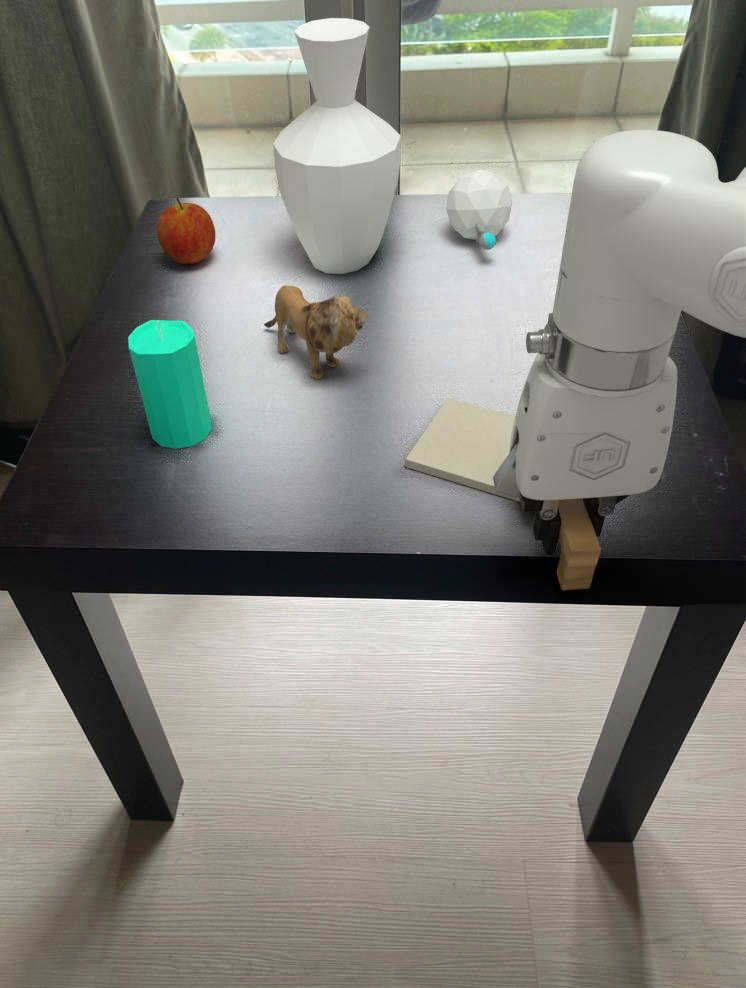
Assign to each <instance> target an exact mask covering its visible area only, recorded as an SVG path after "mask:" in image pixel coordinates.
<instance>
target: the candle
mask: <svg viewBox="0 0 746 988" xmlns="http://www.w3.org/2000/svg"><path fill="white" fill-rule="evenodd" d="M127 341H128V350H129V355H130V357H131V362H132V366H133V369H134V372H135V377H136V381H137V385H138V388H139V393H140V396H141V397H140V398H141V400H142V405H143V408H144V412H145V416H146V420H147V423H148V427H149V431H150V436H151V438H152V440H153V441H155V442H156V443H157V444H158V445H159V446H160V447H164V448H169V449H175V450H177V449H184V448H191V447H193V446H196V445H197V444H199V443H202V442H203V441H204V440H206V439H207V438H208V436H209V435H210V433H211V432H212V431H213V426H212V425H213V424H212V418H211V414H210V407H209V404H208V398H207V392H206V387H205V382H204V377H203V371H202V366H201V361H200V357H199V356H200V355H199V350H198V346H197V340H196V335H195V331H194V329H193V328H192V327H191V326H190V325H189V324H187V322H185V321H184V320H166V319H165V320H163V319H150V320H148V321H146V322H144V323H142V324H141V325H139V326H137V327H135V329H134V330H133V331H132V332H131V333H130V334H129V336H128V337H127Z"/></svg>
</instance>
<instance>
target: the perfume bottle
mask: <svg viewBox="0 0 746 988" xmlns="http://www.w3.org/2000/svg"><path fill="white" fill-rule="evenodd" d="M510 191H511V190H510V185H509V184H508V183H507V182H505V180H504V179H502V178H501V177H500V176H499V175H498V174H497V173H496V172H492V171H488V170H483V169H480V168H479V169H476V170H473V171H470V172H467V173H465V174H462V175H460V176H459V178H458V179H457V180H456V182H454V184H453V185H452V186H451V188H450V189H449V190H448V195H447V200H446V204H445V205H446V206H445V210H446V213H447V217H448V222H449V224H450V227H452V228H453V229H454V230H455V231H456V232H457V233H458V234H459V235H460V236H461V237H462V238H464V239H467V240H468V239H469V240H473V241H475V242H476V243H479V246H480V248H482V249H483V250H485V251H491V250H492V249H493V248H495V245H496V242H497V237H496V236H497V235H498V234H499V233H500V232H501V231H502V229H503V228H504V227H505V226H506V225H507V223H508V222H509V221H510V218H511V213H512V205H513V200H512V195H511V192H510Z"/></svg>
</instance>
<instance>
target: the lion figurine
mask: <svg viewBox="0 0 746 988" xmlns="http://www.w3.org/2000/svg"><path fill="white" fill-rule="evenodd" d="M274 313H275V316H274V317H273V318H272V319H271V320H268V321H267V322H265V323H263V326H264V327H266V328H267V329H270V328H272V327H274V326H275V325H276V324H277V352H278V353H280V354H285V353H287V352H289V350H290V349H289V346H288V344H287V342H286V337H285V336H286V334H285V329H286V330H287V331H288V333H291V334H293V333H295V334H296V335H297V336H298V337H299V338H300V339H301V340H302V341H305V344H306V349H307V353H308V359H309V364H310V376H311V378H312V379H313V380H320V379H322V378H323V377H324V373H323V369H322V366H321V364H320V353H324V354H325V363H326V365H328V366H329V367H331V368H337V367H339V365H340V364H341V362H340V359H339V358H338V357H337V358H335V357H334V354H336V353H338V352H339V351H341V350H342V349H343V348H346V347H348V346H349V347H350V345H351V344H353V343H354V341H355V339H356V337H357V335H358V332H361V331H362V330H363V326H364V325H365V324H366V322H367V317H368V313H367V312H366V311H364V310H361V309H358V308H357V307H356V306H355V304H352V300H351V297H349V296H345V295H339V296H336V295H334V296H333V297H332V296H331V297H330V298H327V299H324V300H321V301H318V302H314V301H313V302H311V303H310V302H309V301H308V300H307V299H306V298H305V297H304V294H303V292H302V290H301V289H300V288H299V287H298V286H294V285H286V284H283V285H282V286H281V287H280V288H279V289H278V290H277V293H276V294H275V300H274Z"/></svg>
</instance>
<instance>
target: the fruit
mask: <svg viewBox="0 0 746 988" xmlns="http://www.w3.org/2000/svg"><path fill="white" fill-rule="evenodd" d="M176 202H177V203H176V204H172V205H170V206H168V207H167V208H165V209H164V210H163V211H162V212H161V214H160V216H159V218H158V221H157V226H156V227H157V228H156V231H157V232H156V233H157V240H158V243H159V246H160V248H161V249H162V251H163V252H164V254H166V255H167V257H169V258H170V259H172V260H173V261H174V262H176V263H178V264H182V265H193V264H194V265H195V264H198V263H200V262H201V261H203V260H204V259H205V258H206V257H208V255H210V253H211V252H212V250H213V249H214V246H215V243H216V227H215V224H214V222H213V221H214V220H213V219H212V217H211V215H210V214H209V212H208V211H207V210H206V209H205V208H204V207H202V206H201V205H199V204H197V203H193V202H192V203H191V202H181V200H180V199H179V197H176Z"/></svg>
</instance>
